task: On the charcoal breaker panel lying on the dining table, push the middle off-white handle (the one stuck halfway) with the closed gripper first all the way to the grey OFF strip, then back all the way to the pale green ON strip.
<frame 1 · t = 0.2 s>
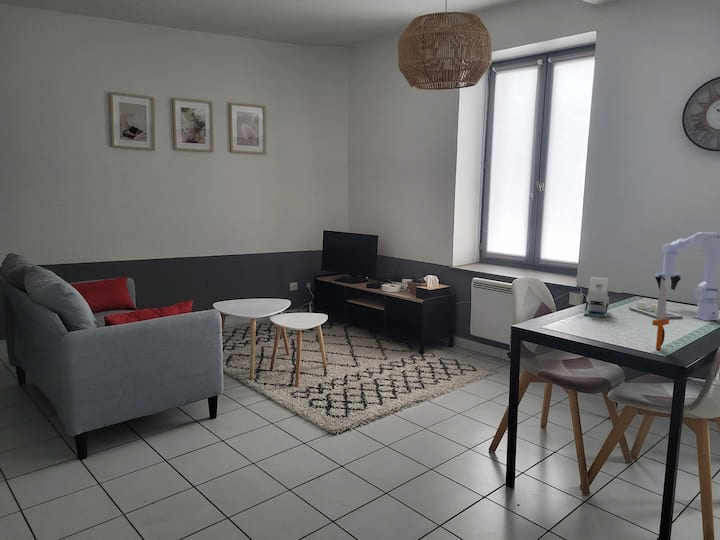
hand: (666, 289, 308), 10 cm above the table, tool pointing down, fingers open, 7 cm apart
breaker 3: (641, 305, 298), point 3 cm above the table, slide at 3.0 cm
knife: (658, 350, 225), on the table
breaker 1: (659, 310, 284), point 3 cm above the table, slide at 3.0 cm
panel: (654, 313, 292), on the table
breaker 2: (655, 307, 291), point 3 cm above the table, slide at 0.0 cm
robotic device: (596, 313, 291), on the table
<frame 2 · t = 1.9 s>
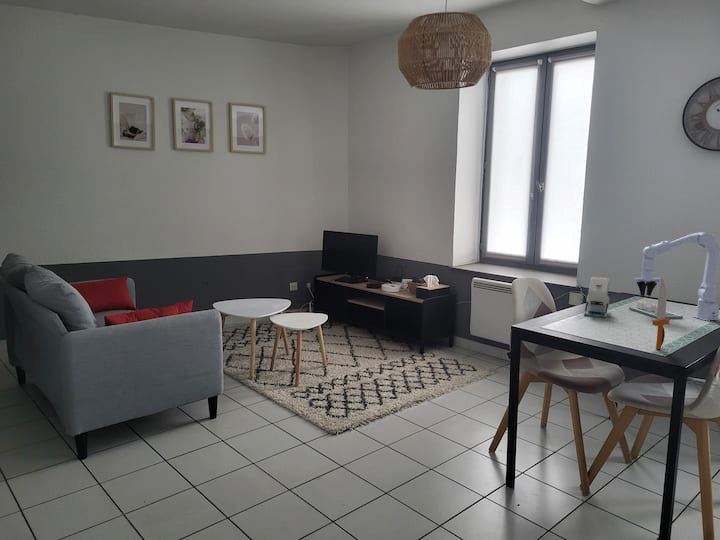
hand: (645, 295, 289), 10 cm above the table, tool pointing down, fingers open, 3 cm apart
nothing on the table moved.
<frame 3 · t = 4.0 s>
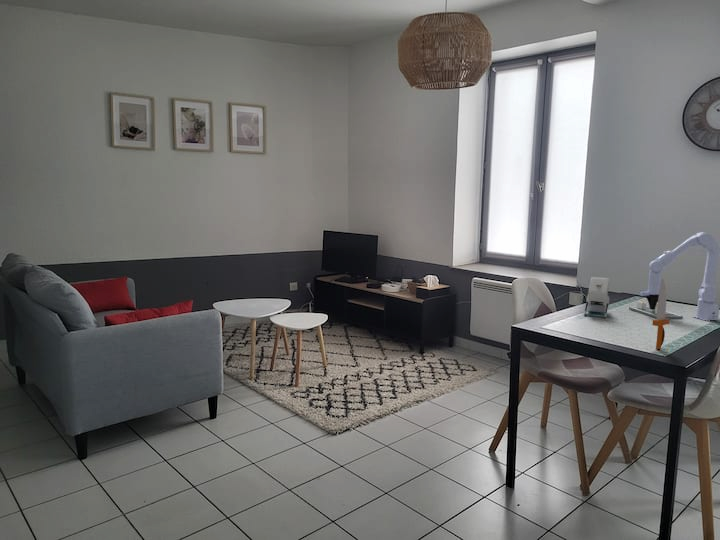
hand: (652, 309, 291), 3 cm above the table, tool pointing down, fingers closed
breaker 2: (656, 307, 291), point 3 cm above the table, slide at -0.6 cm, touching gripper
everything else where it was.
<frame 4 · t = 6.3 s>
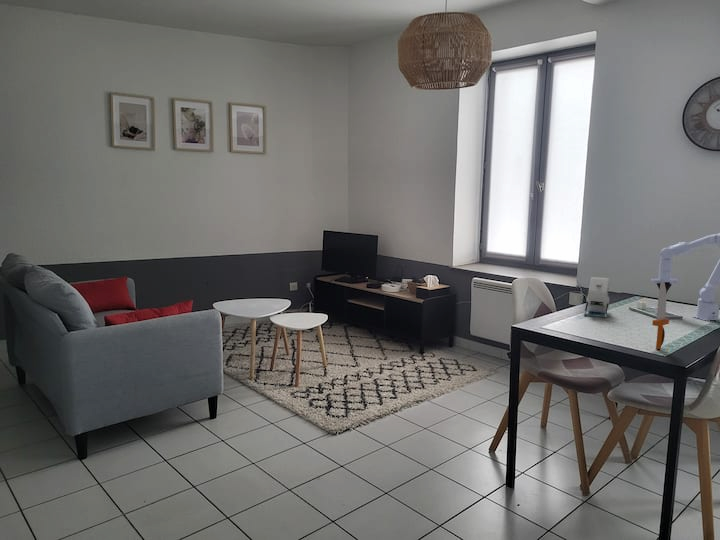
hand: (662, 296, 291), 9 cm above the table, tool pointing down, fingers closed
breaker 2: (661, 307, 292), point 3 cm above the table, slide at -3.5 cm
everything else where it was.
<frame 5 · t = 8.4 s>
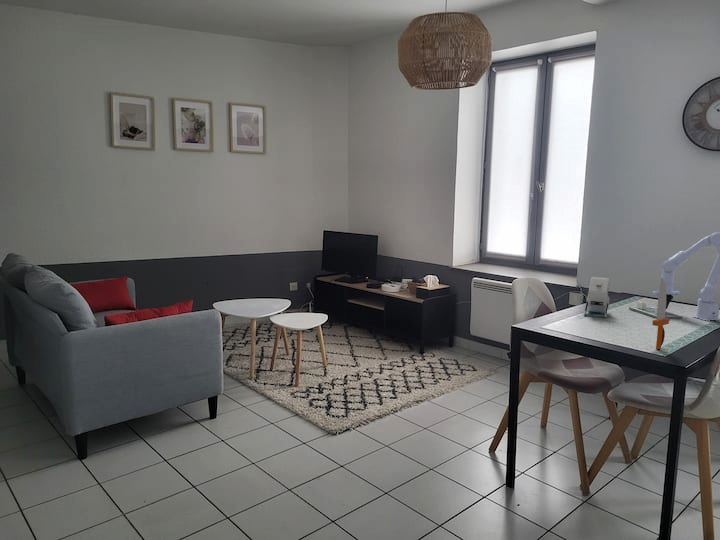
hand: (664, 308, 292), 3 cm above the table, tool pointing down, fingers closed
breaker 2: (660, 307, 292), point 3 cm above the table, slide at -2.9 cm, touching gripper
everything else where it was.
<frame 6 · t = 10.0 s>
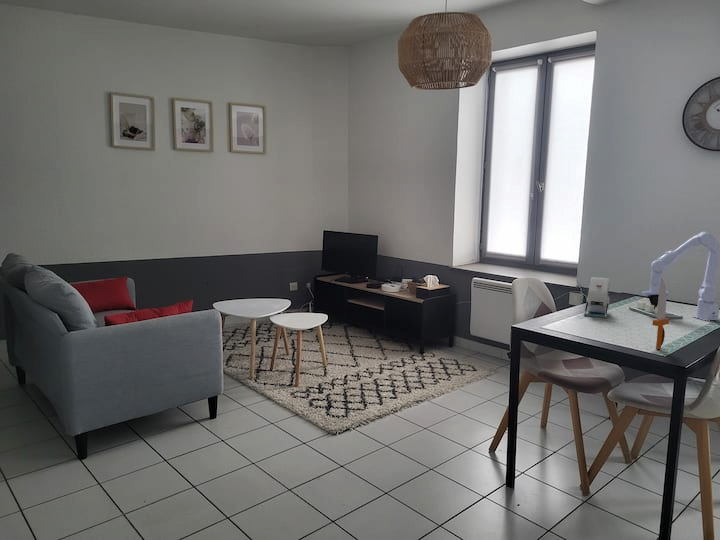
hand: (653, 308, 291), 3 cm above the table, tool pointing down, fingers closed
breaker 2: (649, 307, 291), point 3 cm above the table, slide at 3.5 cm, touching gripper
everything else where it was.
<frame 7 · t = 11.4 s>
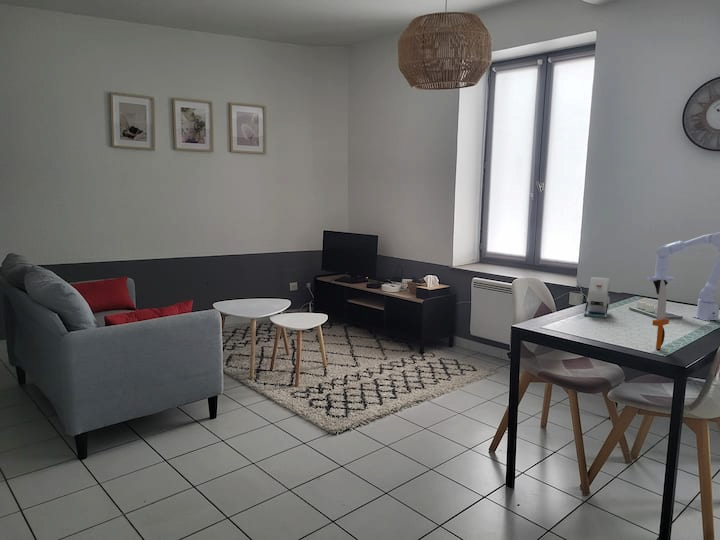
hand: (659, 294, 294), 10 cm above the table, tool pointing down, fingers closed
breaker 2: (649, 307, 291), point 3 cm above the table, slide at 3.5 cm
everything else where it was.
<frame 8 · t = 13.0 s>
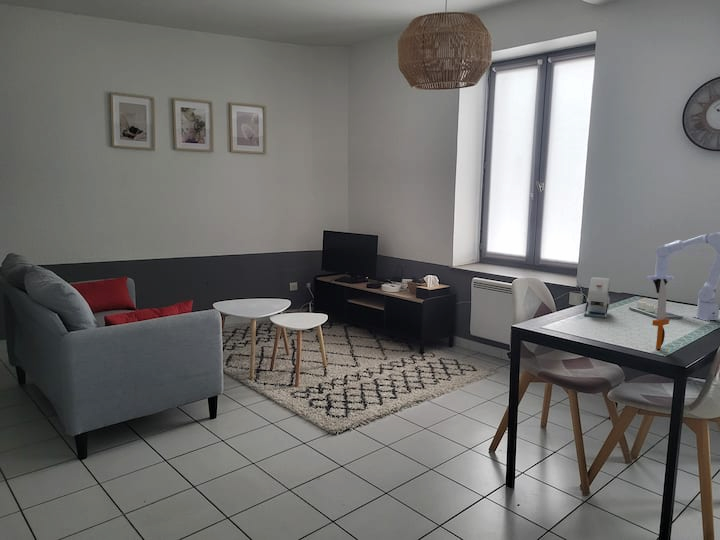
hand: (659, 293, 297), 10 cm above the table, tool pointing down, fingers closed
nothing on the table moved.
at the end: breaker 2 slide at 3.5 cm; breaker 1 slide at 3.0 cm; breaker 3 slide at 3.0 cm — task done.
